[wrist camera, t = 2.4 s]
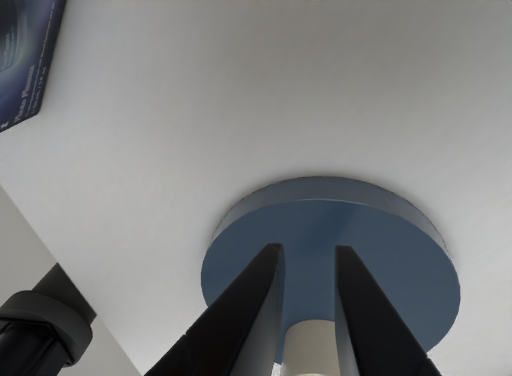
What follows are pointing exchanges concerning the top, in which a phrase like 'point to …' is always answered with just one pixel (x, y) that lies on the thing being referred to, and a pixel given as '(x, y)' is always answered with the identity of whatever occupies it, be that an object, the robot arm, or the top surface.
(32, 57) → the small box
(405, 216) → the plate
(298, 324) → the teacup
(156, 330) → the top surface
